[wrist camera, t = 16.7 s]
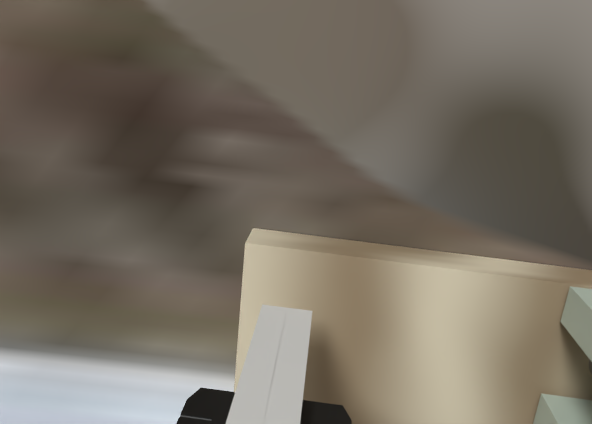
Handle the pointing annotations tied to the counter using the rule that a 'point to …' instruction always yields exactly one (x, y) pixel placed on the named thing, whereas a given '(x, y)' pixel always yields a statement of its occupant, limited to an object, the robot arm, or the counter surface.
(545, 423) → the block
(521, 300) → the board
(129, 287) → the counter surface
